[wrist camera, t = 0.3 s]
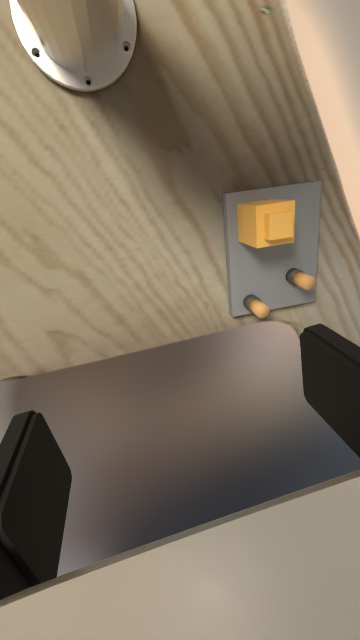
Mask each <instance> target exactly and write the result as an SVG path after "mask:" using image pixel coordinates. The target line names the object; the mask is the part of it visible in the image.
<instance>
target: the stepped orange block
mask: <svg viewBox="0 0 360 640" xmlns="http://www.w3.org/2000/svg"><path fill="white" fill-rule="evenodd" d="M237 215H238V238H239V242H242V243H244V244H247V245H249V246H252V247H255V248H262V247H268V246H274V245H280V244H287V243H293V242H294V228H295V200H277V199H270V200H263V201H256V202H249V203H242V204H237Z"/></svg>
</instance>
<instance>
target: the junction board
mask: <svg viewBox="0 0 360 640" xmlns="http://www.w3.org/2000/svg"><path fill="white" fill-rule="evenodd" d="M321 185H322V181H312V182H305V183H297V184H290V185H283V186H275V187H268V188H261V189H254V190H246V191H239V192H232V193H224V194H222V197H223V214H224V231H225V247H226V264H227V281H228V297H229V314H230V315H231V316H232V317H235V316H241V315H246V314H251V313H254V314H255V315H256V316H258V317H259V318H265V317H267V316H268V314H269V312H270V310H272V309H277V308H282V307H287V306H293V305H298V304H303V303H308V302H313V301H315V287H316V270H317V253H318V236H319V219H320V202H321ZM270 199H277V200H295V228H294V242H293V243H287V244H280V245H274V246H268V247H262V248H255V247H252V246H249V245H247V244H244V243H242V242H239V238H238V215H237V204H242V203H249V202H256V201H263V200H270Z"/></svg>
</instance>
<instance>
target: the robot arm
mask: <svg viewBox="0 0 360 640" xmlns="http://www.w3.org/2000/svg"><path fill="white" fill-rule="evenodd" d="M9 5H10V10H11V16H12V21H13V24H14V27H15V30H16V33H17V35H18V37H19V39H20V41H21V43H22V45H23V47H24V49H25V51H26V52H27V54H28V55H29V57H30V58H31V60H32V61H33V62H34V63H35V65H36V66H37V67H38V68H39V69H40V70H41V71H42V72H43V73H44V74H45V75H46V76H47V77H48V78H50V79H51V80H53V81H54V82H56V83H58V84H59V85H61V86H63V87H66V88H68V89H71V90H75V91H81V92H93V91H97V90H101V89H104V88H106V87H107V86H109V85H111V84H113V83H114V82H115V81H116V80H117V79H118V78H119V77H121V75H122V74H123V72H124V71H125V70H126V68H127V67H128V64H129V62H130V60H131V58H132V55H133V51H134V47H135V41H136V31H137V19H136V12H135V5H134V2H133V0H9ZM125 47H127V48H128V51H125V50H124V48H125ZM37 53H39V54H40V57H38V58H36V57H35V55H36V54H37ZM87 81H90V82H91V84H90V85H87V84H86V82H87ZM300 345H301V346H300V347H301V360H302V375H303V389H304V395H305V398H306V400H307V402H308V403H309V404H310V405H311V406H312V407H313V408H314V409H315V411H317V413H318V414H319V415H320V416H321V417H322V418H323V419H324V420H325V421H326V422H327V423H328V424H329V425H330V427H331V428H333V430H334V431H335V432H336V433H337V434H338V435H339V436H340V437H341V438H342V439H343V440H344V441H345V443H346V444H347V445H348V446H349V447H350V448H351V449H352V450H353V451H354V452H355V453H356V454H357V455H358V456H359V458H360V347H359V346H357V345H355V344H354V343H352V342H351V341H349V340H347V339H346V338H344V337H342V336H341V335H339V334H338V333H336V332H334V331H333V330H331V329H329V328H328V327H326V326H325V325H323V324H317V325H313V326H310V327H307V328H305V329H304V331H303V333H301V334H300ZM71 480H72V475H71V470H70V467H69V466H68V464H67V462H66V460H65V458H64V456H63V454H62V452H61V450H60V448H59V446H58V444H57V442H56V440H55V438H54V437H53V435H52V433H51V431H50V429H49V427H48V425H47V423H46V421H45V419H44V417H43V415H42V414H41V413H36V412H35V411H33V410H31V411H28V412H25V413H21V414H18V415H15V416H14V417H13V418H12V420H11V423H10V425H9V427H8V429H7V431H6V433H5V435H4V438H3V440H2V442H1V444H0V640H360V470H358V471H355V472H352V473H349V474H346V475H343V476H340V477H337V478H335V479H332V480H329V481H326V482H323V483H320V484H317V485H314V486H311V487H308V488H306V489H303V490H300V491H297V492H294V493H291V494H288V495H285V496H282V497H280V498H277V499H274V500H271V501H268V502H265V503H263V504H260V505H257V506H254V507H251V508H248V509H245V510H242V511H240V512H237V513H234V514H232V515H228V516H225V517H223V518H220V519H217V520H214V521H211V522H209V523H206V524H203V525H200V526H197V527H194V528H192V529H189V530H186V531H183V532H180V533H177V534H175V535H172V536H169V537H166V538H163V539H161V540H158V541H155V542H152V543H150V544H147V545H144V546H141V547H138V548H136V549H133V550H130V551H127V552H124V553H122V554H119V555H116V556H113V557H111V558H108V559H105V560H102V561H99V562H97V563H94V564H91V565H88V566H86V567H83V568H80V569H78V570H75V571H72V572H70V573H67V574H64V575H62V576H59V577H57V570H58V564H59V558H60V551H61V545H62V538H63V532H64V526H65V519H66V512H67V506H68V500H69V493H70V487H71Z"/></svg>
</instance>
